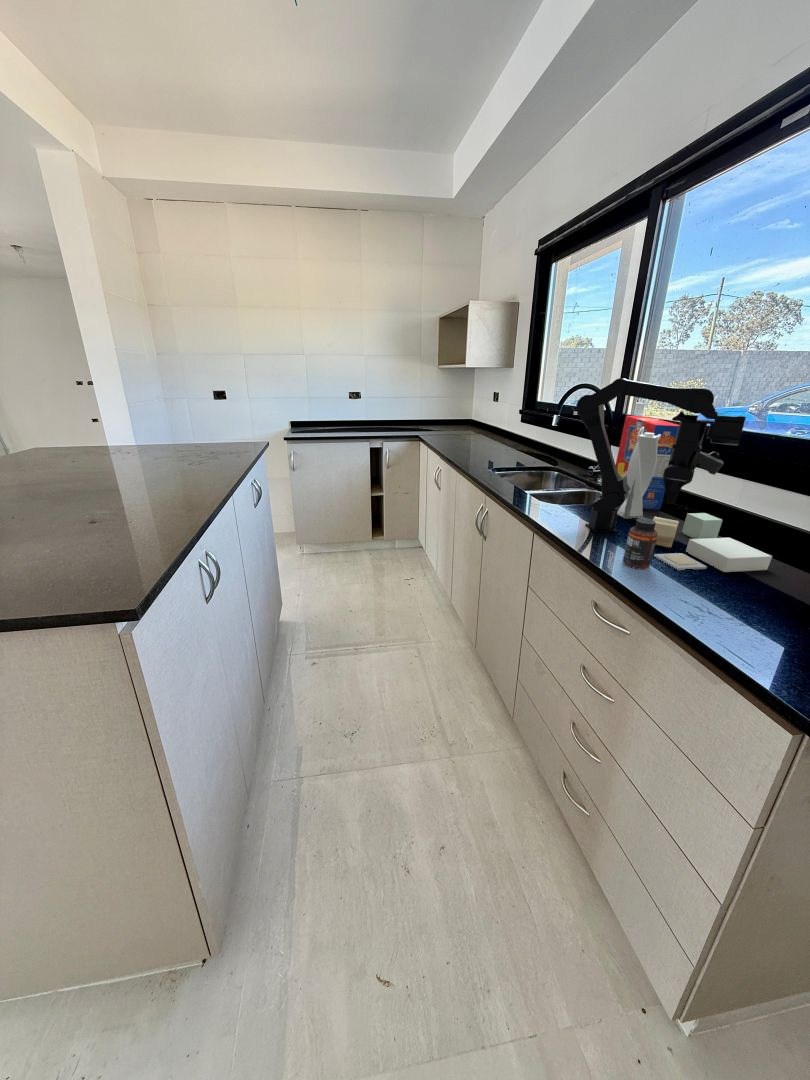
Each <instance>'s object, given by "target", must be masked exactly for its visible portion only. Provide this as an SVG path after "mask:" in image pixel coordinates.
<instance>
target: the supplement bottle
mask: <svg viewBox="0 0 810 1080" xmlns="http://www.w3.org/2000/svg"><path fill="white" fill-rule="evenodd" d="M655 524H656V522H655V521H653V519H649V518H646V517H645V518H639V519H636V522H635V525H634V526H632V527H630V529H629V531H628V537H627V541H626V545H625V548H624V553H623V558H622V563H623V562H624V563H625V564H624V563H623V564H624V565H625V566H627V565H628V566H627V567H629V566H630V568H632V567H634V568H633V569H637V568H640V569H639V570H645V568H646V569H648V568H650V566H651V563H652V559H653V557H654V551H655V547H656V540H657V536H658V534H657V531H656V530H655V529H654V528H655Z"/></svg>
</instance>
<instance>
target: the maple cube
mask: <svg viewBox="0 0 810 1080" xmlns="http://www.w3.org/2000/svg"><path fill="white" fill-rule="evenodd" d="M652 520H653V521H655V522H656V524H655V528H654V529H655V530H656V531H657V534H658V536H657V540H656V544H655V546H661V547H665V548H669V547H670V548H669V549H671V548H672V546H673V543H674V541H675V536H676V535H677V534H676V533H677V529H678V526H679V523H680V521H679V520H673V519H669V518H663V517H657V516H654V517H653V518H652Z"/></svg>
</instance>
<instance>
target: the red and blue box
mask: <svg viewBox="0 0 810 1080" xmlns="http://www.w3.org/2000/svg"><path fill="white" fill-rule="evenodd" d="M643 426H644V431H643V435H644V433H654V436H657V435H659V434H661V437H660V438H659V440H658V448H657V461H656V466H655V470H654V473H653V476H652V479H651V481H650V484H649V486H648V488H647V490H646V492H645V493H644V495H643V497H642V508H643V510H652V509H653V510H654V511H655V510H656V511H660V510H661V508H662V504H663V500H664V496H665V494H666V490H665V485H664V480H663V474H664V470H665V468H666V467H667V466H668V465H669V460H670V458H671V454H672V450H673V445H674V443H675V439H676V435H677V432H678V428H679V424H677V423H673V422H669V421H665V420H662V419H659V418H655V417H651V416H639V415H626V416H625V419H624V424H623V428H622V433H621V437H620V438H621V439H620V444H619V447H618V451H617V456H616V460H615V461H616V462H615V465H616V469H617V472H618V474H619V475H620V476H621V478H622V477H625V476H627V471H628V466H629V462H630V459H631V456H632V453H633V451H634V448H635V446H636V444H637V441H638V439H637V435H638V433H639V430H640V429H641V428H642V427H643ZM642 429H643V428H642ZM641 432H642V430H641ZM641 432H640V435H641ZM653 510H652V511H653Z"/></svg>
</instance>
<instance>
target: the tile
mask: <svg viewBox="0 0 810 1080" xmlns="http://www.w3.org/2000/svg"><path fill="white" fill-rule="evenodd" d="M655 557H656V558H655ZM653 558H655V559H657V560H659V561H660V560H661V561H660V562H662V561H663V562H662V563H664V564H665V563H666V565H667V564H668V566H669V565H670V566H671V568H672V567H673V568H672V569H674V568H675V569H677V570H676V571H686V570H685V569H693V570H706V569H707V568H708V565H705V564H704V563H702V562H699V561H697V560H696V559H694V558H692V557H690V556H688V555H687V554H684V553H682V552H681V553H680V552H679V553H678V552H674V553H655V554H654V553H653ZM670 566H669V567H670ZM675 569H674V570H675Z"/></svg>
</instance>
